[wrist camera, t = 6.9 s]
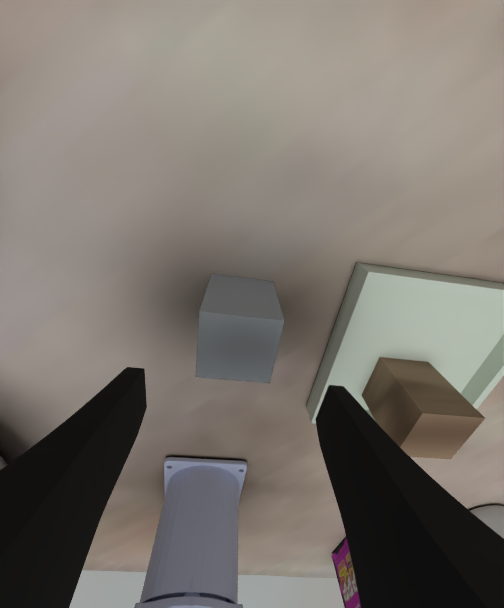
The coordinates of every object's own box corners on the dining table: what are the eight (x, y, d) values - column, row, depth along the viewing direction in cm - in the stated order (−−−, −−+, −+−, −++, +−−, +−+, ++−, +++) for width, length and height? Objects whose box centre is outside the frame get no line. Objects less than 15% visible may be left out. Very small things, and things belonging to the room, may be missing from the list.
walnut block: (406, 398, 21) (450, 459, 16) (361, 395, 20) (394, 455, 16) (428, 361, 19) (485, 418, 15) (379, 356, 19) (422, 413, 14)
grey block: (263, 332, 18) (269, 383, 14) (207, 326, 18) (195, 376, 13) (273, 281, 16) (284, 320, 12) (211, 273, 16) (199, 311, 11)
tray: (442, 416, 23) (457, 433, 21) (306, 405, 22) (311, 423, 20) (536, 287, 17) (564, 298, 15) (356, 262, 16) (368, 271, 14)
